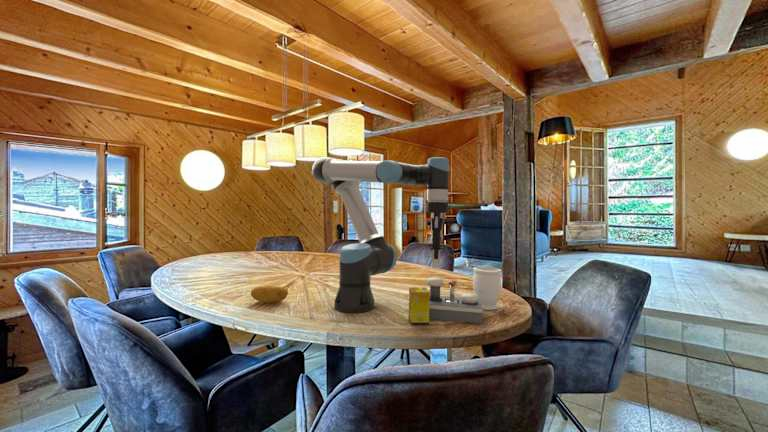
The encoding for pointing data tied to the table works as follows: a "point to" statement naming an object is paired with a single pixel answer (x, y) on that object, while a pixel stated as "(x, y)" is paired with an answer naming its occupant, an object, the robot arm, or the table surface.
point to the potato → (269, 294)
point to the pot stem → (452, 292)
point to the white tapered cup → (487, 286)
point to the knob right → (469, 298)
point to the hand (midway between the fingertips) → (436, 267)
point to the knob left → (435, 287)
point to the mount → (455, 310)
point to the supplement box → (419, 305)
